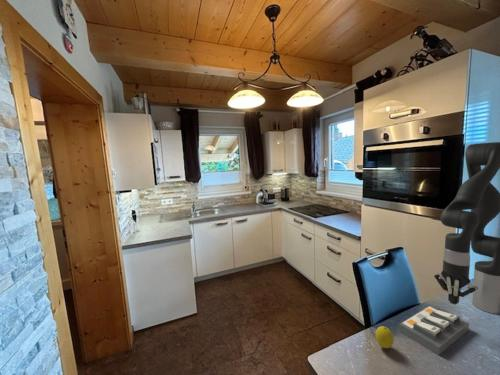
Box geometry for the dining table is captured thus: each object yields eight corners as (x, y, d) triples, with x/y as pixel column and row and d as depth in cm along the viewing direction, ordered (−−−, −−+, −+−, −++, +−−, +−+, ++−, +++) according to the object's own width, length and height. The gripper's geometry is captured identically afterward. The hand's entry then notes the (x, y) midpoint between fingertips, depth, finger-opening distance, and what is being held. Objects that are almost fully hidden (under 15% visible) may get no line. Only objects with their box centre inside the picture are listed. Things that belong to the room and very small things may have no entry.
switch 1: (421, 324, 86) (421, 321, 86) (440, 331, 80) (439, 328, 80) (416, 327, 84) (416, 324, 84) (435, 334, 79) (434, 331, 79)
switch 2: (439, 312, 92) (438, 310, 92) (457, 318, 87) (456, 315, 87) (435, 315, 90) (434, 312, 90) (453, 321, 85) (452, 318, 85)
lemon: (395, 355, 76) (396, 333, 75) (378, 352, 77) (379, 331, 76) (389, 342, 81) (389, 322, 81) (373, 340, 83) (373, 320, 82)
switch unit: (429, 311, 98) (430, 300, 97) (468, 330, 86) (469, 318, 86) (398, 330, 87) (399, 319, 87) (438, 355, 75) (439, 341, 75)
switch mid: (430, 318, 89) (430, 315, 89) (449, 324, 83) (448, 321, 84) (426, 321, 87) (425, 318, 87) (444, 327, 82) (444, 324, 82)
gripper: (484, 265, 80) (480, 309, 82) (440, 253, 92) (437, 292, 93) (475, 269, 77) (472, 316, 78) (430, 256, 89) (428, 297, 90)
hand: (453, 303), depth 86 cm, fingers closed
